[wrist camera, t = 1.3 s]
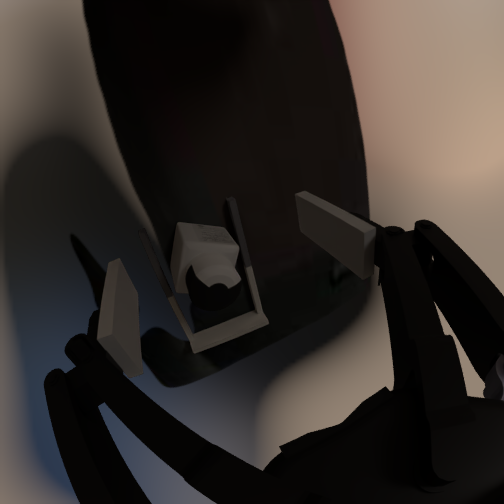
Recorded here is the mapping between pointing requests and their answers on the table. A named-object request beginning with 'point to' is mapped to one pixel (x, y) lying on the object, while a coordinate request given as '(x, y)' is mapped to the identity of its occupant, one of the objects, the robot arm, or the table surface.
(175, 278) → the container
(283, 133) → the table surface
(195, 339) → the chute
